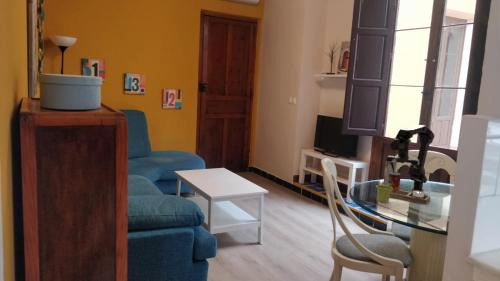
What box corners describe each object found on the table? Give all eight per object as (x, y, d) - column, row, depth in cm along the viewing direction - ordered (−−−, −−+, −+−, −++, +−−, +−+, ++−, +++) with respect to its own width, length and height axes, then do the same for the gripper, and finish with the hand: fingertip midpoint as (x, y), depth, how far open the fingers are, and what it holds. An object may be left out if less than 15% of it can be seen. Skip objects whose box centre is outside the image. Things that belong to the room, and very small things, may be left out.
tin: (413, 197, 247) (414, 190, 246) (424, 200, 244) (425, 192, 243) (410, 200, 242) (411, 192, 241) (422, 202, 238) (423, 194, 238)
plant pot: (390, 200, 239) (392, 186, 238) (392, 204, 230) (393, 189, 229) (374, 198, 242) (375, 184, 240) (374, 202, 233) (376, 187, 231)
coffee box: (383, 181, 286) (385, 159, 284) (392, 182, 285) (395, 160, 282) (384, 184, 277) (387, 161, 275) (394, 185, 276) (397, 162, 273)
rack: (392, 192, 256) (393, 188, 256) (429, 199, 244) (430, 195, 244) (387, 196, 247) (387, 192, 247) (425, 204, 235) (426, 199, 234)
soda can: (384, 190, 262) (387, 171, 260) (392, 189, 266) (394, 171, 264) (393, 192, 256) (395, 174, 254) (401, 192, 259) (403, 173, 258)
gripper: (385, 149, 247) (382, 173, 249) (417, 153, 237) (414, 178, 240) (389, 146, 256) (387, 170, 259) (420, 150, 246) (418, 175, 249)
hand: (401, 173), depth 251 cm, fingers open, 9 cm apart
